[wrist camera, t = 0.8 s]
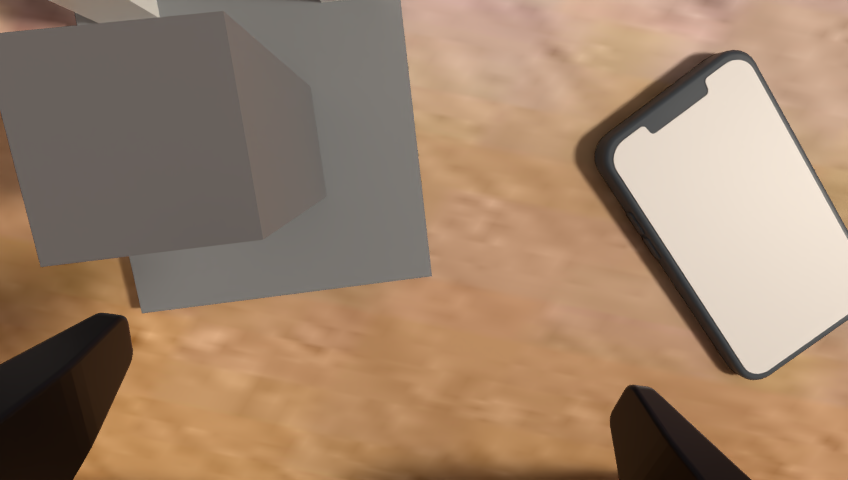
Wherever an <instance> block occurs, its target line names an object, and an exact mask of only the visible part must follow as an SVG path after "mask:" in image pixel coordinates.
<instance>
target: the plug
mask: <svg viewBox="0 0 848 480" xmlns="http://www.w3.org/2000/svg"><path fill="white" fill-rule="evenodd" d="M0 111H1V115H2V119H3V123H4V127H5V131H6V135H7V138H8V142H9V146H10V150H11V154H12V158H13V162H14V166H15V169H16V173H17V177H18V181H19V185H20V189H21V193H22V197H23V200H24V204H25V208H26V212H27V216H28V220H29V224H30V227H31V231H32V235H33V239H34V243H35V247H36V251H37V255H38V258H39V262H40V266H41V267H45V266H53V265H61V264H69V263H77V262H86V261H94V260H102V259H110V258H118V257H126V256H135V255H143V254H151V253H159V252H167V251H175V250H183V249H192V248H200V247H208V246H216V245H224V244H232V243H241V242H249V241H257V240H263V239H265V238H266V237H268V236H269V235H271V234H272V233H274V232H275V231H277V230H278V229H280V228H281V227H283V226H284V225H285V224H287V223H288V222H290V221H291V220H293V219H294V218H296V217H297V216H299V215H300V214H302V213H303V212H305V211H306V210H307V209H309V208H310V207H312V206H313V205H315V204H316V203H318V202H319V201H321V200H322V199H324V198H325V197H327V196H326V189H325V183H324V176H323V169H322V163H321V156H320V149H319V142H318V136H317V129H316V122H315V116H314V109H313V102H312V95H311V89H310V86H309V85H308V84H307V83H305V82H304V81H303V80H302V79H301V78H300V77H299V76H297V75H296V74H295V73H294V72H293V71H292V70H291V69H289V68H288V67H287V66H286V65H285V64H284V63H283V62H281V61H280V60H279V59H278V58H277V57H276V56H274V55H273V54H272V53H271V52H270V51H269V50H268V49H266V48H265V47H264V46H263V45H262V44H261V43H260V42H258V41H257V40H256V39H255V38H254V37H253V36H252V35H250V34H249V33H248V32H247V31H246V30H245V29H243V28H242V27H241V26H240V25H239V24H238V23H237V22H235V21H234V20H233V19H232V18H231V17H230V16H229V15H227V14H226V13H225V12H224V11H217V12H207V13H197V14H187V15H177V16H167V17H157V18H147V19H137V20H126V21H116V22H106V23H96V24H86V25H76V26H66V27H56V28H46V29H36V30H25V31H15V32H5V33H0Z"/></svg>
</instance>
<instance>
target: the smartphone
mask: <svg viewBox="0 0 848 480" xmlns="http://www.w3.org/2000/svg"><path fill="white" fill-rule="evenodd" d="M595 163H596V166H597V168H598V170H599V172H600V174H601V175H602V177H603V178H604V180H605V181H606V183H607V184H608V186H609V187H610V189H611V190H612V192H613V193H614V195H615V196H616V198H617V199H618V201H619V202H620V204H621V205H622V207H623V208H624V210H625V212H626V214H627V216H628V218H629V219H630V221H631V222H632V224H633V225H634V227H635V228H636V230H637V231H638V233H640V234H641V236H642V237H643V240H644V242H645V244H646V245H647V247H648V248H649V250H650V251H651V253H652V254H653V256H654V257H655V258H657V260H658V261H659V263H660V264H661V266H662V268H663V269H664V271H665V272H666V274H667V275H668V277H669V278H670V280H671V281H672V283H673V284H674V286H675V287H676V289H677V290H678V292H679V293H680V295H681V296H682V298H683V299H684V301H685V302H686V304H687V305H688V307H689V308H690V310H691V311H692V313H693V314H694V316H695V317H696V319H697V320H698V322H699V323H700V325H701V326H702V328H703V329H704V331H705V332H706V334H707V335H708V337H709V338H710V340H711V341H712V343H713V344H714V346H715V347H716V349H717V350H718V352H719V353H720V355H721V356H722V358H723V359H724V361H725V362H726V364H727V365H728V366H729V368H730V369H731V370H733V371H734V372H736V373H737V374H739V375H740V376H742V377H744V378H746V379H750V380H758V379H763V378H765V377H767V376H769V375H770V374H772V373H773V372H775V371H776V370H778V369H779V368H780V367H782V366H783V365H785V364H786V363H787V362H789V361H790V360H792V359H793V358H795V357H796V356H797V355H799V354H800V353H802V352H803V351H804V350H806V349H807V348H809V347H810V346H812V345H813V344H814V343H816V342H817V341H819V340H820V339H821V338H823V337H824V336H826V335H827V334H829V333H830V332H831V331H833V330H834V329H836V328H837V327H838V326H840V325H841V324H843V323H844V322H846V321H847V320H848V230H847V229H846V227H845V225H844V223H843V221H842V220H841V218H840V216H839V214H838V212H837V210H836V209H835V207H834V205H833V203H832V201H831V199H830V198H829V196H828V194H827V192H826V190H825V189H824V187H823V185H822V183H821V181H820V179H819V178H818V176H817V174H816V172H815V170H814V169H813V167H812V165H811V163H810V161H809V159H808V158H807V156H806V154H805V152H804V150H803V149H802V147H801V145H800V143H799V141H798V139H797V138H796V136H795V134H794V132H793V130H792V129H791V127H790V125H789V123H788V121H787V119H786V118H785V116H784V114H783V112H782V110H781V109H780V107H779V105H778V103H777V101H776V99H775V98H774V96H773V94H772V92H771V90H770V89H769V87H768V85H767V83H766V81H765V79H764V78H763V76H762V74H761V72H760V70H759V68H758V67H757V65H756V63H755V62H754V60H753V59H752V57H750V56H749V55H748V54H747V53H745V52H742V51H738V50H730V51H725V52H722V53H718V54H715V55H712V56H710V57H709V58H707V59H706V60H704V61H703V62H702V63H700V64H699V65H698V66H696V67H695V68H694V69H692V70H691V71H690V72H688V73H687V74H686V75H684V76H683V77H682V78H680V79H679V80H678V81H676V82H675V83H674V84H672V85H671V86H670V87H668V88H667V89H666V90H664V91H663V92H662V93H660V94H659V95H658V96H656V97H655V98H654V99H652V100H651V101H650V102H648V103H647V104H646V105H644V106H643V107H642V108H640V109H639V110H638V111H636V112H635V113H634V114H632V115H631V116H630V117H628V118H627V119H626V120H624V121H623V122H622V123H620V124H619V125H618V126H616V127H615V128H614V129H612V130H611V131H610V132H608V133H607V134H606V135H605V136H604V137H602V139H601V140H600V141H599V143H598V145H597V148H596V151H595Z"/></svg>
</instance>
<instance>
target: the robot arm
mask: <svg viewBox="0 0 848 480" xmlns="http://www.w3.org/2000/svg"><path fill="white" fill-rule="evenodd" d="M132 355H133V348H132V342H131V336H130V330H129V324H128V321H127V319H126V318H125V317H124V316H122V315H116V314H108V313H98V314H95V315H93V316H91V317H89V318H87V319H85V320H83V321H81V322H80V323H78V324H76V325H74V326H72V327H70V328H68V329H66V330H64V331H63V332H61V333H59V334H57V335H55V336H53V337H51V338H49V339H47V340H45V341H44V342H42V343H40V344H38V345H36V346H34V347H32V348H30V349H28V350H26V351H25V352H23V353H21V354H19V355H17V356H15V357H13V358H11V359H9V360H8V361H6V362H4V363H2V364H0V480H73V479H74V477H75V475H76V474H77V472H78V470H79V468H80V467H81V465H82V463H83V462H84V460H85V458H86V456H87V455H88V453H89V451H90V449H91V448H92V446H93V444H94V441H95V439H96V437H97V435H98V433H99V431H100V429H101V427H102V425H103V422H104V420H105V418H106V416H107V414H108V411H109V409H110V407H111V405H112V403H113V401H114V398H115V396H116V394H117V392H118V390H119V387H120V385H121V383H122V381H123V379H124V377H125V374H126V372H127V370H128V368H129V366H130V363H131V360H132ZM610 428H611V434H612V440H613V446H614V451H615V457H616V463H617V469H618V475H619V480H751V479H750V478H749V477H748V476H747V475H746V474H745V473H743V472H742V471H741V470H740V469H739V468H738V467H737V466H736V465H735V464H734V463H733V462H732V461H731V460H729V459H728V458H727V457H726V456H725V455H724V454H723V453H722V452H721V451H720V450H719V449H718V448H717V447H715V446H714V445H713V444H712V443H711V442H710V441H709V440H708V439H707V438H706V437H705V436H704V435H703V434H701V433H700V432H699V431H698V430H697V429H696V428H695V427H694V426H693V425H692V424H691V423H690V422H689V421H687V420H686V419H685V418H684V417H683V416H682V415H681V414H680V413H679V412H678V411H677V410H676V409H675V408H673V407H672V406H671V405H670V404H669V403H668V402H667V401H666V400H665V399H664V398H663V397H662V396H660V395H659V394H658V393H657V392H656V391H655V390H654V389H652V388H650V387H646V386H639V385H629V386H628V387H626V389H625V390H624V392H623V393H622V395H621V397H620V399H619V400H618V402H617V404H616V405H615V407H614V409H613V410H612V413H611V416H610Z"/></svg>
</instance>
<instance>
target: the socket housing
mask: <svg viewBox="0 0 848 480" xmlns="http://www.w3.org/2000/svg"><path fill="white" fill-rule="evenodd" d="M48 1H51V2H53V3H55V4H57V5H60V6H62V7H64V8H66V9H68V10H71V11H73V12H74V13H75V17H76V22H77V25H86V24H96V23H106V22H116V21H126V20H137V19H147V18H157V17H167V16H177V15H187V14H197V13H207V12H217V11H224V12H225V13H226V14H227V15H229V16H230V17H231V18H232V19H233V20H234V21H235V22H237V23H238V24H239V25H240V26H241V27H242V28H243V29H245V30H246V31H247V32H248V33H249V34H250V35H252V36H253V37H254V38H255V39H256V40H257V41H258V42H260V43H261V44H262V45H263V46H264V47H265V48H266V49H268V50H269V51H270V52H271V53H272V54H273V55H274V56H276V57H277V58H278V59H279V60H280V61H281V62H283V63H284V64H285V65H286V66H287V67H288V68H289V69H291V70H292V71H293V72H294V73H295V74H296V75H297V76H299V77H300V78H301V79H302V80H303V81H304V82H305V83H307V84H308V85H309V86H310V89H311V95H312V102H313V109H314V116H315V122H316V129H317V136H318V142H319V149H320V156H321V163H322V169H323V176H324V183H325V189H326V196H327V197H325V198H324V199H322V200H321V201H319V202H318V203H316V204H315V205H313V206H312V207H310V208H309V209H307V210H306V211H305V212H303V213H302V214H300V215H299V216H297V217H296V218H294V219H293V220H291V221H290V222H288V223H287V224H285V225H284V226H283V227H281V228H280V229H278V230H277V231H275V232H274V233H272V234H271V235H269V236H268V237H266V238H265V239H263V240H257V241H249V242H241V243H232V244H224V245H216V246H208V247H200V248H192V249H183V250H175V251H167V252H159V253H151V254H143V255H135V256H129V258H130V262H131V267H132V271H133V276H134V280H135V285H136V289H137V293H138V298H139V302H140V307H141V311H142V313H148V312H156V311H164V310H172V309H180V308H187V307H195V306H203V305H211V304H218V303H226V302H234V301H242V300H250V299H257V298H265V297H273V296H281V295H289V294H296V293H304V292H312V291H320V290H327V289H335V288H343V287H351V286H359V285H366V284H374V283H382V282H390V281H398V280H405V279H413V278H421V277H429V276H432V273H431V264H430V255H429V247H428V238H427V229H426V220H425V212H424V203H423V194H422V185H421V177H420V168H419V159H418V150H417V141H416V133H415V124H414V115H413V106H412V98H411V89H410V80H409V71H408V62H407V54H406V45H405V36H404V27H403V19H402V10H401V1H400V0H48Z"/></svg>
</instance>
